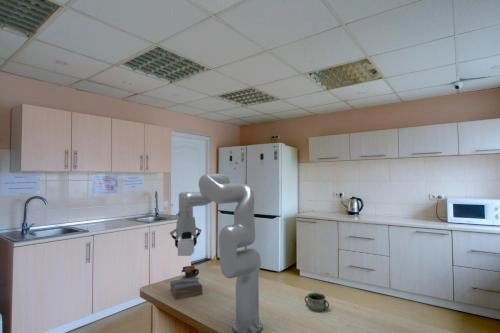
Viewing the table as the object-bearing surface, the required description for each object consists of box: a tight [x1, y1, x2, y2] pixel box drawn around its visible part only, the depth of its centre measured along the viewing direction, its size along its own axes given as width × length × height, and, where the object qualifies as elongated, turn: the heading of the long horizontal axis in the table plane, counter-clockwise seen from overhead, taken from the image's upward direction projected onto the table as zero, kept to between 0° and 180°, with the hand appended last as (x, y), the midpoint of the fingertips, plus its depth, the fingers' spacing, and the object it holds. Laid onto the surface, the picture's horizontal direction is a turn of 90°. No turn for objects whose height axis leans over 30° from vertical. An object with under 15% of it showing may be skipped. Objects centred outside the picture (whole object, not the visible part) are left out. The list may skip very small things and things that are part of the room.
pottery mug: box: [181, 265, 200, 279], centre depth 175 cm, size 12×9×8 cm
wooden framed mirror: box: [170, 277, 203, 300], centre depth 154 cm, size 14×14×5 cm
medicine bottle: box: [177, 232, 195, 257], centre depth 153 cm, size 7×7×12 cm
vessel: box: [304, 292, 330, 313], centre depth 133 cm, size 12×9×6 cm
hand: (185, 246), depth 155 cm, fingers closed on medicine bottle, 9 cm apart
